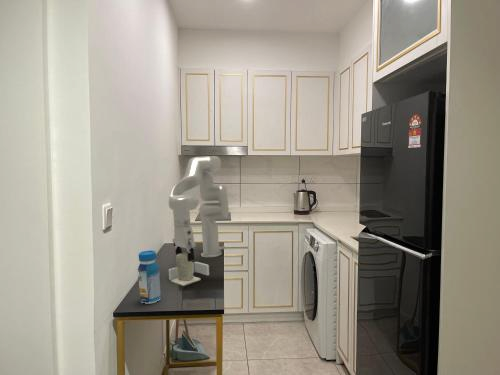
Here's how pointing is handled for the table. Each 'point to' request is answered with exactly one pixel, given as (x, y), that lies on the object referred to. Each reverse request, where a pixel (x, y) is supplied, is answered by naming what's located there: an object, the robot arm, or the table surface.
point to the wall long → (175, 273)
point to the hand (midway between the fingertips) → (185, 258)
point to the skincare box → (184, 267)
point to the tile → (183, 283)
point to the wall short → (201, 268)
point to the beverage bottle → (149, 278)
